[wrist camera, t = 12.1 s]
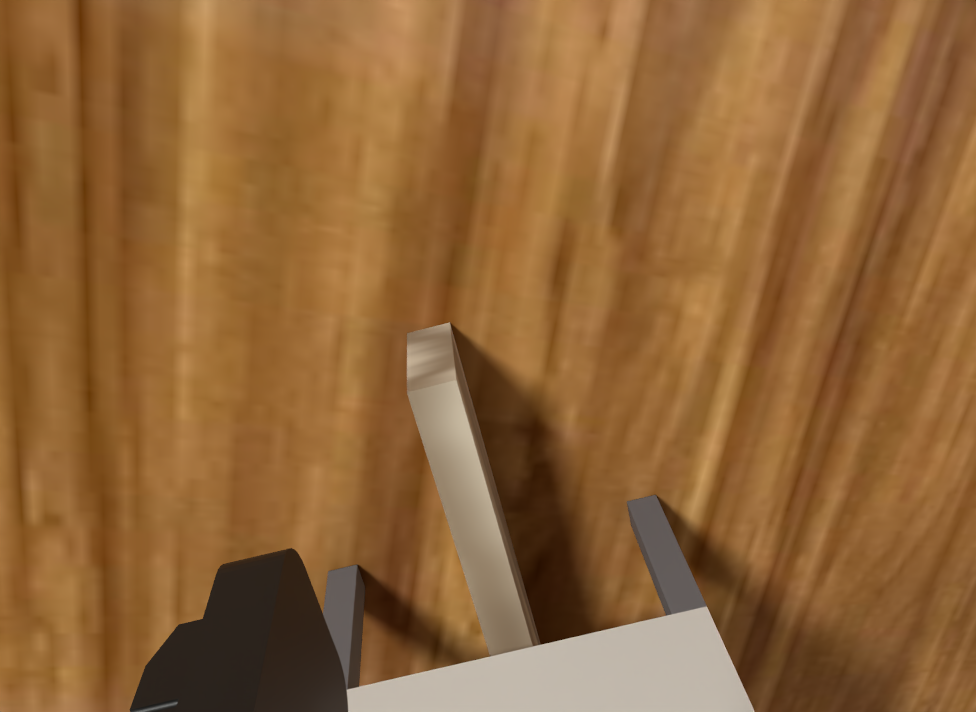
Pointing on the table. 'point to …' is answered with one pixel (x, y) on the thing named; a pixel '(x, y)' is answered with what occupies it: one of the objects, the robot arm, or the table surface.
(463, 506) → the pale wooden bar
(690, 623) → the low cabinet
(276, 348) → the table surface
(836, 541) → the table surface
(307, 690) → the robot arm
